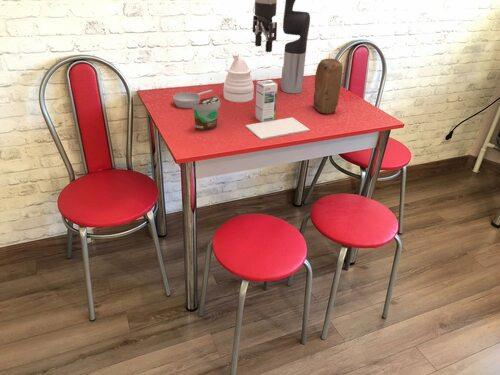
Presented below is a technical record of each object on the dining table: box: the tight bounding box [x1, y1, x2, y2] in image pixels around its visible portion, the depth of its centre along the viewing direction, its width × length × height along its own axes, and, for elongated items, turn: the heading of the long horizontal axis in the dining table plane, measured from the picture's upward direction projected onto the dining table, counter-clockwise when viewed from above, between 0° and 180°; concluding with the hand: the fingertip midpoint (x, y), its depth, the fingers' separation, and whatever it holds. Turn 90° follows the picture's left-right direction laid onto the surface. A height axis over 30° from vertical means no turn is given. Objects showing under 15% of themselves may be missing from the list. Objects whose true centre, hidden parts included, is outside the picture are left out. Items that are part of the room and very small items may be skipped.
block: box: [312, 58, 343, 115], centre depth 166 cm, size 11×8×20 cm
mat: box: [245, 117, 311, 141], centre depth 153 cm, size 12×20×1 cm, turn 117°
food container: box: [191, 94, 221, 131], centre depth 150 cm, size 12×6×10 cm, turn 148°
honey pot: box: [223, 53, 255, 103], centre depth 175 cm, size 13×13×18 cm
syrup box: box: [255, 79, 279, 123], centre depth 156 cm, size 6×6×14 cm
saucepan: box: [172, 89, 213, 109], centre depth 171 cm, size 11×18×4 cm, turn 131°
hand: (263, 48), depth 153 cm, fingers open, 8 cm apart
